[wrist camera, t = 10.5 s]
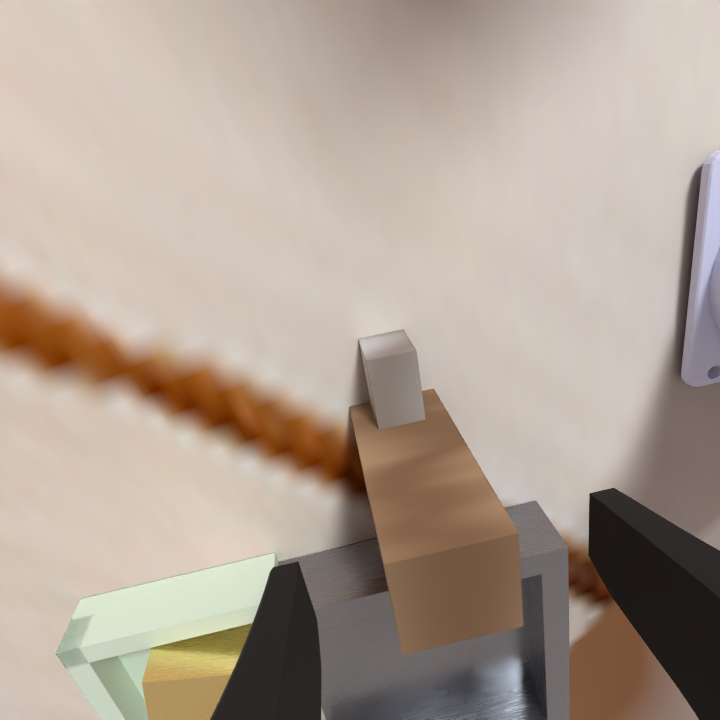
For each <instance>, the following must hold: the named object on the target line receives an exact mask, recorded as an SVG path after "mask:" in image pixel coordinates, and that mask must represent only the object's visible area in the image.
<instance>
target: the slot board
mask: <svg viewBox="0 0 720 720" xmlns="http://www.w3.org/2000/svg"><path fill="white" fill-rule="evenodd" d="M504 509H505V511H506V512H507V514H508V516H509V517H510V519H511V521H512V522H513V524H514V526H515V528H516V529H517V531H518V533H519V545H520V566H521V587H522V607H523V626H522V627H518V628H514V629H510V630H506V631H502V632H497V633H493V634H489V635H485V636H481V637H477V638H473V639H468V640H464V641H460V642H456V643H452V644H448V645H444V646H439V647H435V648H431V649H427V650H423V651H419V652H415V653H410V654H406V655H403V654H402V650H401V645H400V640H399V636H398V631H397V627H396V622H395V618H394V613H393V608H392V604H391V599H390V595H389V590H388V585H387V581H386V576H385V572H384V567H383V563H382V558H381V553H380V549H379V544H378V540H377V539H374V540H370V541H365V542H361V543H357V544H353V545H349V546H344V547H340V548H336V549H332V550H328V551H324V552H319V553H315V554H311V555H307V556H303V557H298V558H294V559H290V560H286V561H282V562H278V566H280V565H285V564H289V563H293V562H297V561H298V562H299V565H300V568H301V571H302V574H303V577H304V580H305V583H306V586H307V590H308V593H309V596H310V599H311V602H312V605H313V608H314V611H315V614H316V617H317V623H318V633H319V643H320V655H321V707H322V710H323V713H324V715H325V718H326V720H569V585H568V546H567V545H566V543H565V542H564V540H563V539H562V538H561V536H560V535H559V533H558V532H557V530H556V529H555V527H554V526H553V525H552V523H551V522H550V520H549V519H548V517H547V516H546V514H545V513H544V512H543V510H542V509H541V507H540V506H539V504H538V503H537V501H533V502H529V503H525V504H520V505H516V506H512V507H508V508H504Z"/></svg>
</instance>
